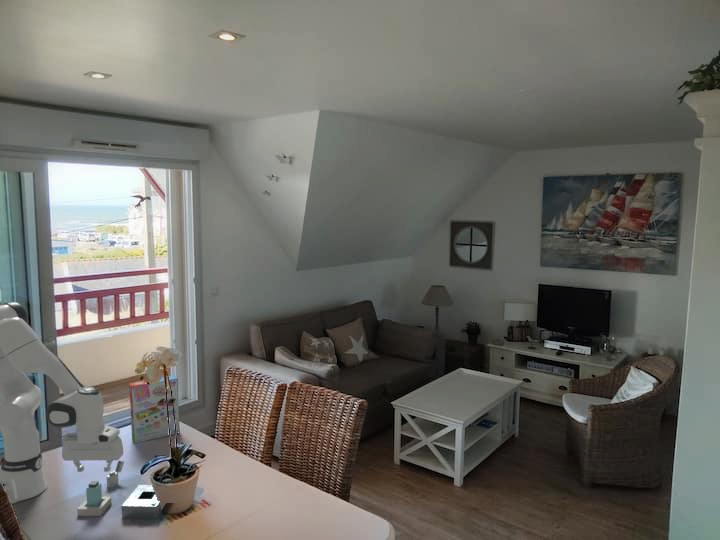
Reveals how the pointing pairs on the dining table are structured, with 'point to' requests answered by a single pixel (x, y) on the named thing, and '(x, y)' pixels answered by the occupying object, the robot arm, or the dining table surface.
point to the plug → (94, 494)
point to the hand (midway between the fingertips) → (94, 471)
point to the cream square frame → (94, 508)
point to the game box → (153, 409)
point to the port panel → (142, 504)
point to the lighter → (114, 475)
